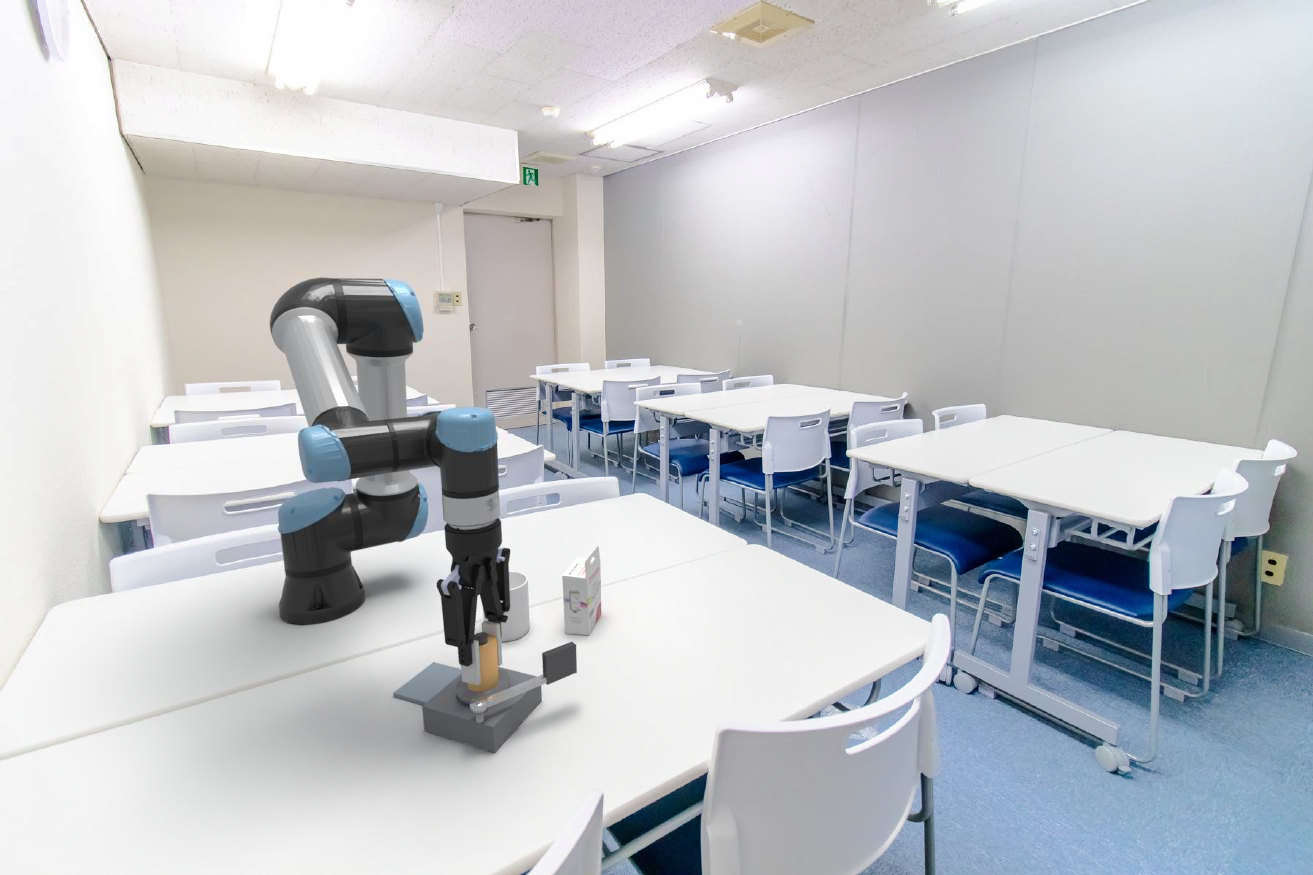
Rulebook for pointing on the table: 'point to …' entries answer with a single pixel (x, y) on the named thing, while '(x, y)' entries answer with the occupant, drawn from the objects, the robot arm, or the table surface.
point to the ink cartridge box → (582, 594)
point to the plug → (485, 672)
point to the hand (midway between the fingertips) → (482, 671)
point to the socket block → (479, 730)
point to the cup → (516, 608)
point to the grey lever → (554, 668)
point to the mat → (427, 683)
